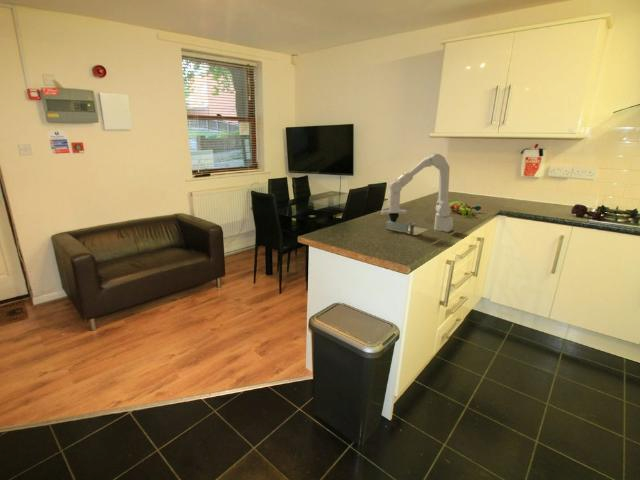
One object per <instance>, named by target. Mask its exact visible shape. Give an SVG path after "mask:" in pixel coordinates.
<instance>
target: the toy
mask: <svg viewBox="0 0 640 480" xmlns="http://www.w3.org/2000/svg"><path fill="white" fill-rule="evenodd" d="M449 206H450V209H451V212H452V211H453V212H456V213H458V214H460V215H461V216H460V217H462V218H463V217H464V218H465V217H468V218H471V217H472V218H473V210H475V211H478V212H479V211H480V210H482V206H480V205H475V206H471V205H468V204H467V203H466V202H463V201H457V200H456V201H451V202H449ZM467 213H468V214H467Z"/></svg>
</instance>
